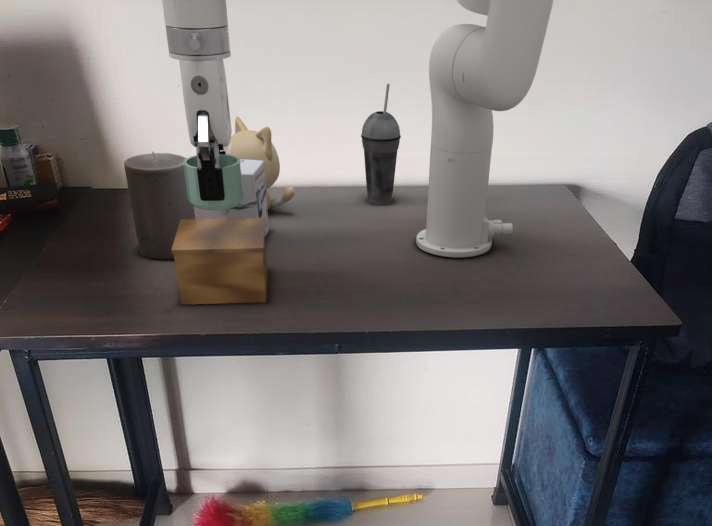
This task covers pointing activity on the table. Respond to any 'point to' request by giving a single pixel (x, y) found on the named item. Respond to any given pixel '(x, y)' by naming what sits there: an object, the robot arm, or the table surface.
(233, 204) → the teal green pot
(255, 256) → the wooden stand
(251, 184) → the ink box
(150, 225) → the pillar candle
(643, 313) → the table surface
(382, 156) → the beverage cup
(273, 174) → the kitten
